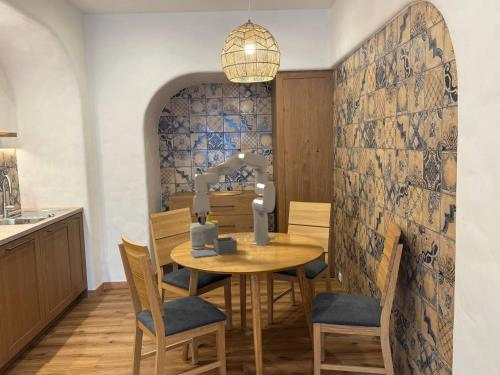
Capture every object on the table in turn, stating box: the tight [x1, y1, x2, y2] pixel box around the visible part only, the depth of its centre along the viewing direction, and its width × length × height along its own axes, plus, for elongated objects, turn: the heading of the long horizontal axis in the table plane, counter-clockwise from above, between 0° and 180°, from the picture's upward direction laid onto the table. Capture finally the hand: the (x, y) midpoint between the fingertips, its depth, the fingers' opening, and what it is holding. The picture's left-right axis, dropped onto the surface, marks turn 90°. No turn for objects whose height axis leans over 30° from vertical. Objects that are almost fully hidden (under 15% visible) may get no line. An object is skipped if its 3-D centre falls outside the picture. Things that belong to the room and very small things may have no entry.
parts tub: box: [213, 236, 238, 256], centre depth 269 cm, size 12×12×8 cm
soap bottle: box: [204, 212, 220, 245], centre depth 296 cm, size 13×13×21 cm
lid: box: [189, 214, 215, 230], centre depth 263 cm, size 13×13×7 cm
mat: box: [190, 248, 218, 259], centre depth 265 cm, size 14×14×1 cm
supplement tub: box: [189, 226, 206, 250], centre depth 281 cm, size 10×10×15 cm
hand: (202, 222), depth 263 cm, fingers closed on lid
